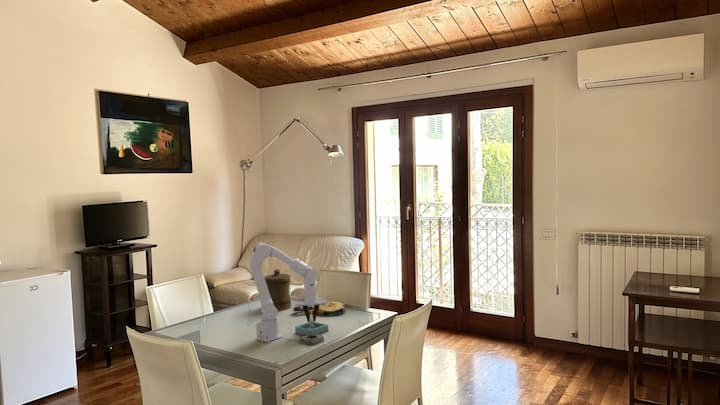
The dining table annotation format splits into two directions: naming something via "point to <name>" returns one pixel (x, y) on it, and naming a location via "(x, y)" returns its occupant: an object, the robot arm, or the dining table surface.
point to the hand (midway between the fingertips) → (311, 321)
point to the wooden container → (279, 289)
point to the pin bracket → (311, 339)
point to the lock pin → (311, 318)
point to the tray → (306, 330)
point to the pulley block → (327, 308)
